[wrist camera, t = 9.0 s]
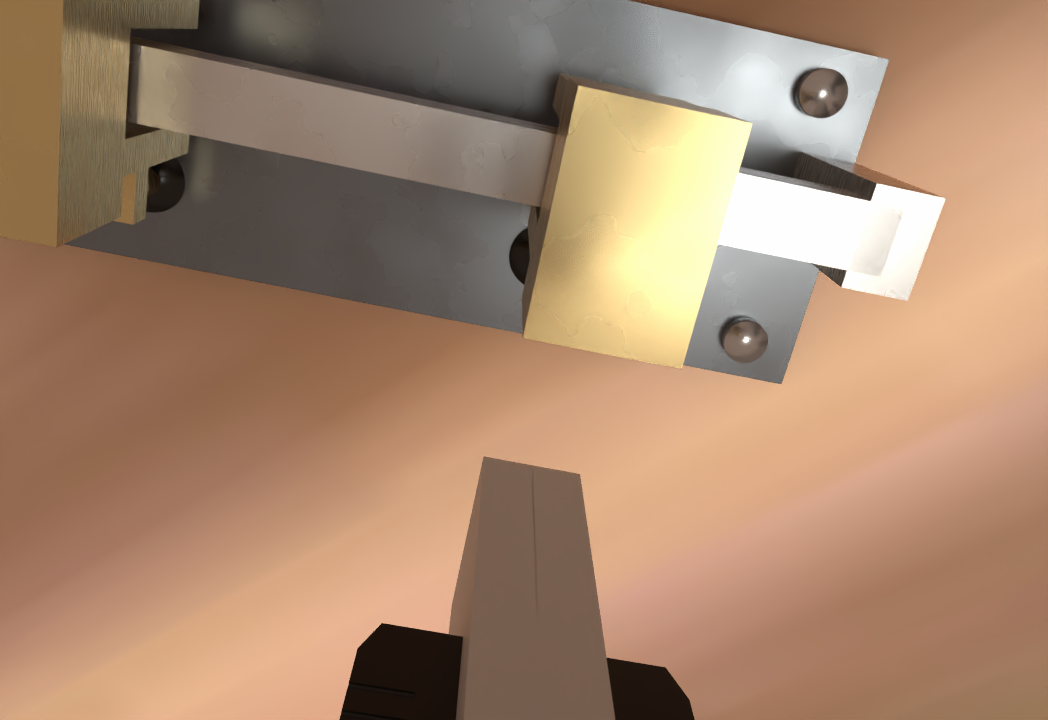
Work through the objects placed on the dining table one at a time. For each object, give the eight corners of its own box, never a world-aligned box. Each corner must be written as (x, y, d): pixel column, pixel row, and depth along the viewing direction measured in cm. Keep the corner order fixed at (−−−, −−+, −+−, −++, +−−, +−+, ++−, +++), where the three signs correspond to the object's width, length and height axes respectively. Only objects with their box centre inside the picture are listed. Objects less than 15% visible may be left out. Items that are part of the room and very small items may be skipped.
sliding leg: (557, 67, 29) (578, 85, 20) (674, 92, 30) (752, 123, 20) (513, 276, 32) (511, 386, 22) (621, 298, 32) (668, 416, 22)
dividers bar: (-28, -62, 28) (-338, -115, 18) (864, 134, 31) (1040, 186, 20) (-26, 165, 31) (-300, 232, 20) (799, 330, 33) (926, 465, 23)
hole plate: (-10, -143, 28) (-39, -153, 27) (877, 58, 31) (896, 60, 29) (-10, 220, 32) (-36, 230, 31) (774, 374, 35) (785, 390, 33)
